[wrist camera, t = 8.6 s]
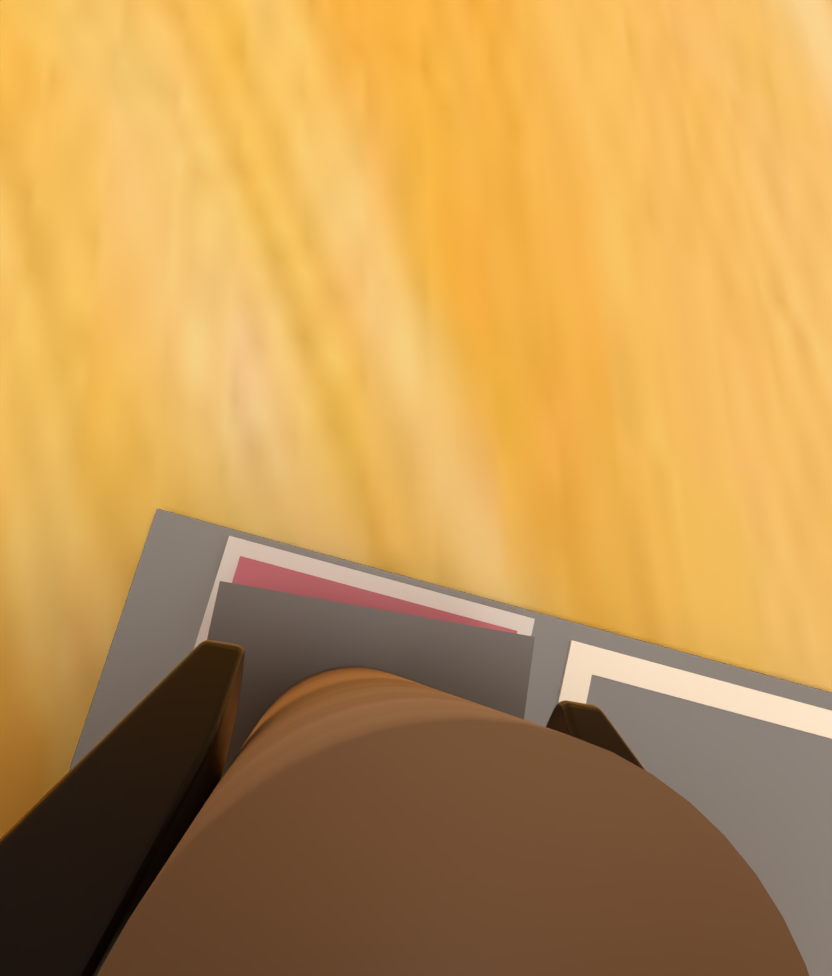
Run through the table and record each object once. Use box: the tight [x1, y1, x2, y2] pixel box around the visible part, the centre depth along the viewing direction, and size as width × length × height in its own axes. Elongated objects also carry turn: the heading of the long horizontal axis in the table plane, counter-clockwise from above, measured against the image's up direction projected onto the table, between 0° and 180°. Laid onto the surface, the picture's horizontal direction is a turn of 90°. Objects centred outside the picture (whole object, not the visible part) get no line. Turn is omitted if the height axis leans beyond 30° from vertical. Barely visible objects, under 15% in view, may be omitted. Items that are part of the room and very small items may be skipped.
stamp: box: [97, 581, 809, 976], centre depth 9 cm, size 5×5×12 cm
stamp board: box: [69, 509, 832, 976], centre depth 16 cm, size 14×20×2 cm
